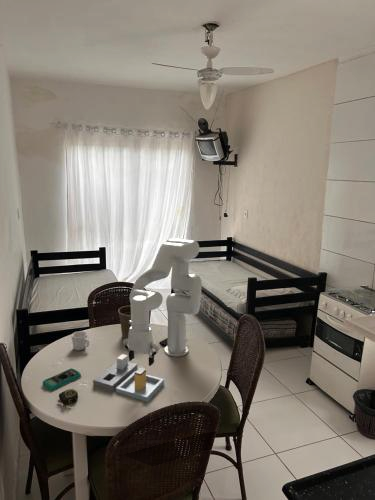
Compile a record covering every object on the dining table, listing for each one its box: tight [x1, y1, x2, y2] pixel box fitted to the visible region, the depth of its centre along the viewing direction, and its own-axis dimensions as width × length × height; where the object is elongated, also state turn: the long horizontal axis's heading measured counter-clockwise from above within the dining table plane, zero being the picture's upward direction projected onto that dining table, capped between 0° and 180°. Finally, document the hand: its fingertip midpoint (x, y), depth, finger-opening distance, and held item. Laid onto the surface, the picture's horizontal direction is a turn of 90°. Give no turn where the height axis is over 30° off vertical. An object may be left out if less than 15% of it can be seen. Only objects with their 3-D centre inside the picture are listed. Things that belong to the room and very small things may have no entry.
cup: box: [71, 330, 90, 351], centre depth 193 cm, size 11×8×8 cm
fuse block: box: [92, 361, 138, 393], centre depth 166 cm, size 20×10×4 cm, turn 156°
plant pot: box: [117, 304, 131, 340], centre depth 209 cm, size 16×16×16 cm
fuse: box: [116, 353, 129, 370], centre depth 170 cm, size 4×3×8 cm, turn 156°
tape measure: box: [58, 388, 79, 407], centre depth 150 cm, size 7×7×4 cm
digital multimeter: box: [42, 367, 82, 392], centre depth 164 cm, size 8×15×3 cm, turn 141°
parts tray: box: [115, 371, 165, 404], centre depth 159 cm, size 15×15×2 cm
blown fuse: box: [135, 367, 147, 391], centre depth 158 cm, size 4×3×8 cm, turn 155°
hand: (141, 361), depth 158 cm, fingers open, 9 cm apart
